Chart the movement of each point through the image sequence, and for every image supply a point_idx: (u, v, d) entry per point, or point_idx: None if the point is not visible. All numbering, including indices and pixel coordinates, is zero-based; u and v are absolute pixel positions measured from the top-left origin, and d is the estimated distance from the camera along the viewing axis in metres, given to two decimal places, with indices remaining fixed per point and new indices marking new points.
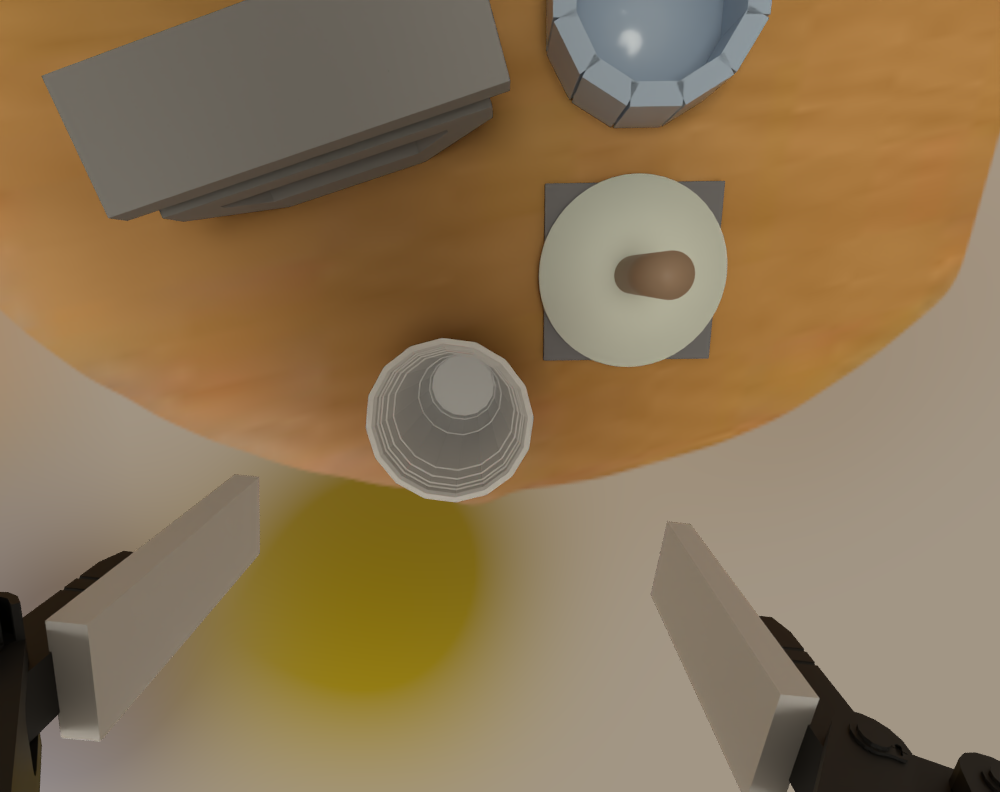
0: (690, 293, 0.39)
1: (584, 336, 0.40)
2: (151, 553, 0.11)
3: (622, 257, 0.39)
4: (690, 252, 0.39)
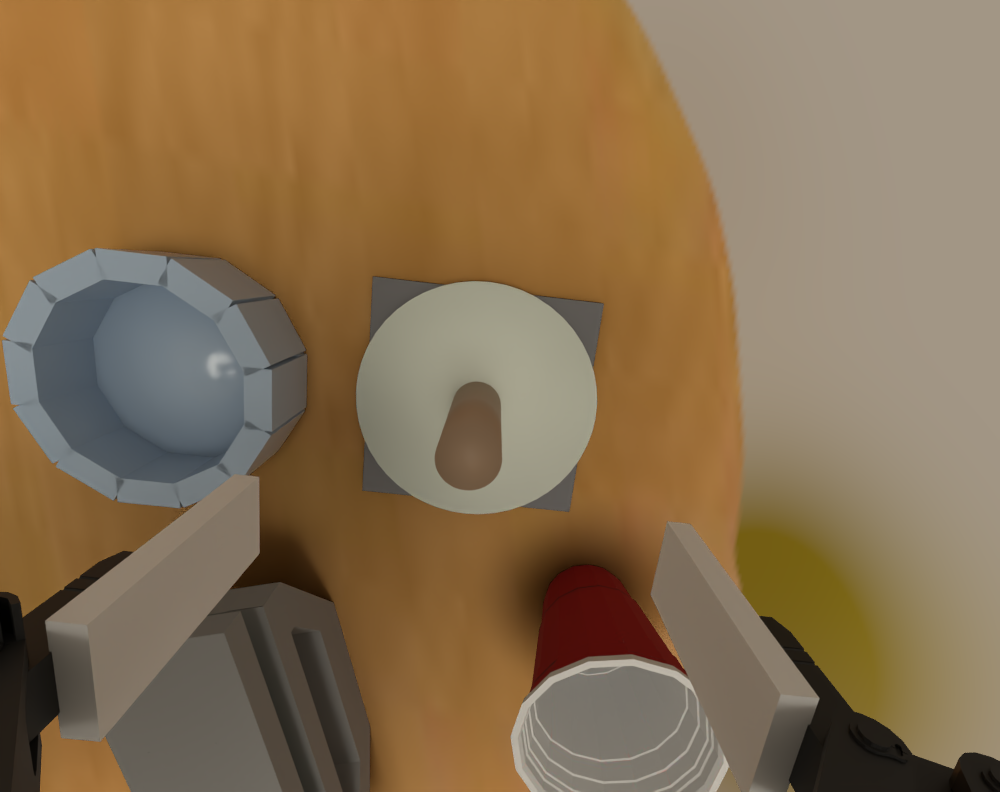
0: (510, 331, 0.29)
1: (546, 468, 0.32)
2: (151, 553, 0.11)
3: None
4: (456, 330, 0.29)
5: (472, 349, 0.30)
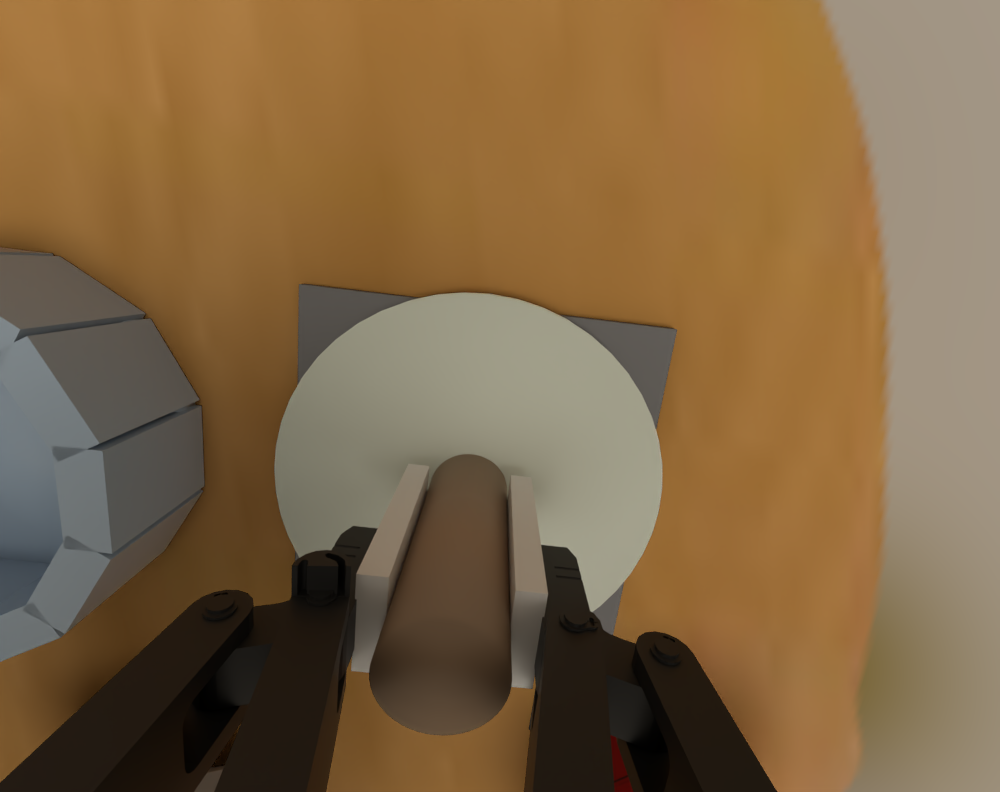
0: (523, 376, 0.18)
1: None
2: (393, 526, 0.13)
3: None
4: (435, 372, 0.18)
5: (461, 404, 0.18)
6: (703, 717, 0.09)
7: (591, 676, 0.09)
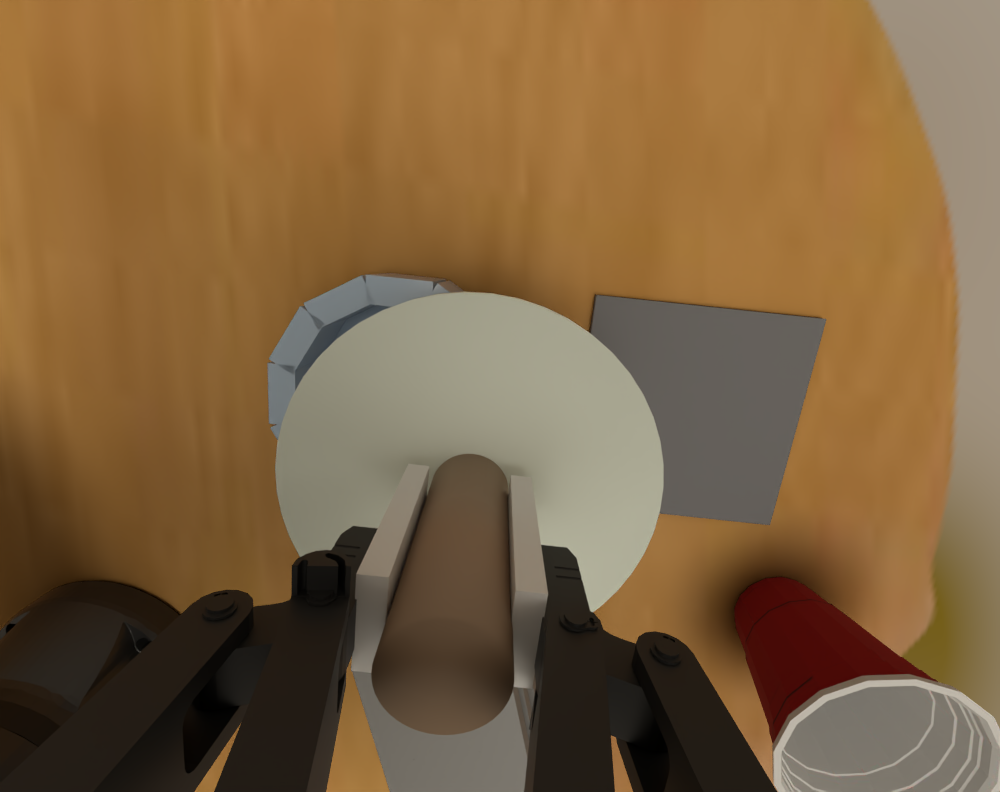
0: (524, 375, 0.18)
1: None
2: (393, 526, 0.13)
3: None
4: (437, 372, 0.18)
5: (462, 403, 0.18)
6: (703, 717, 0.09)
7: (591, 676, 0.09)
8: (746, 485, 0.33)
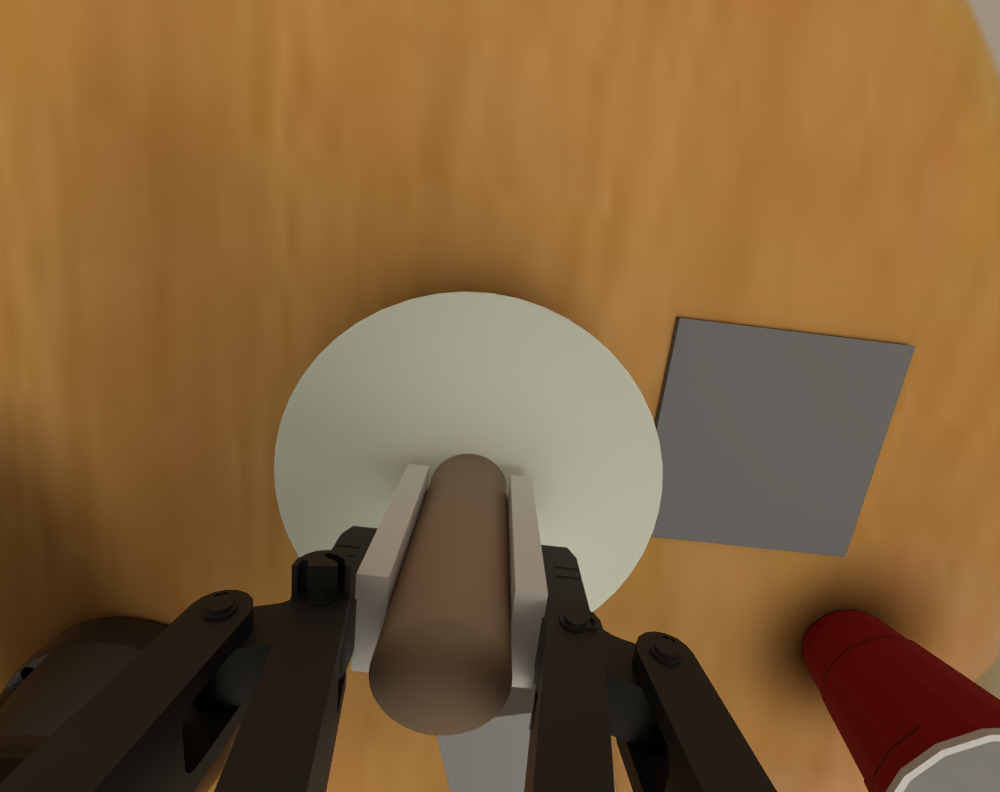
0: (523, 375, 0.18)
1: None
2: (393, 525, 0.13)
3: None
4: (435, 372, 0.18)
5: (461, 403, 0.18)
6: (703, 717, 0.09)
7: (591, 676, 0.09)
8: (823, 516, 0.31)
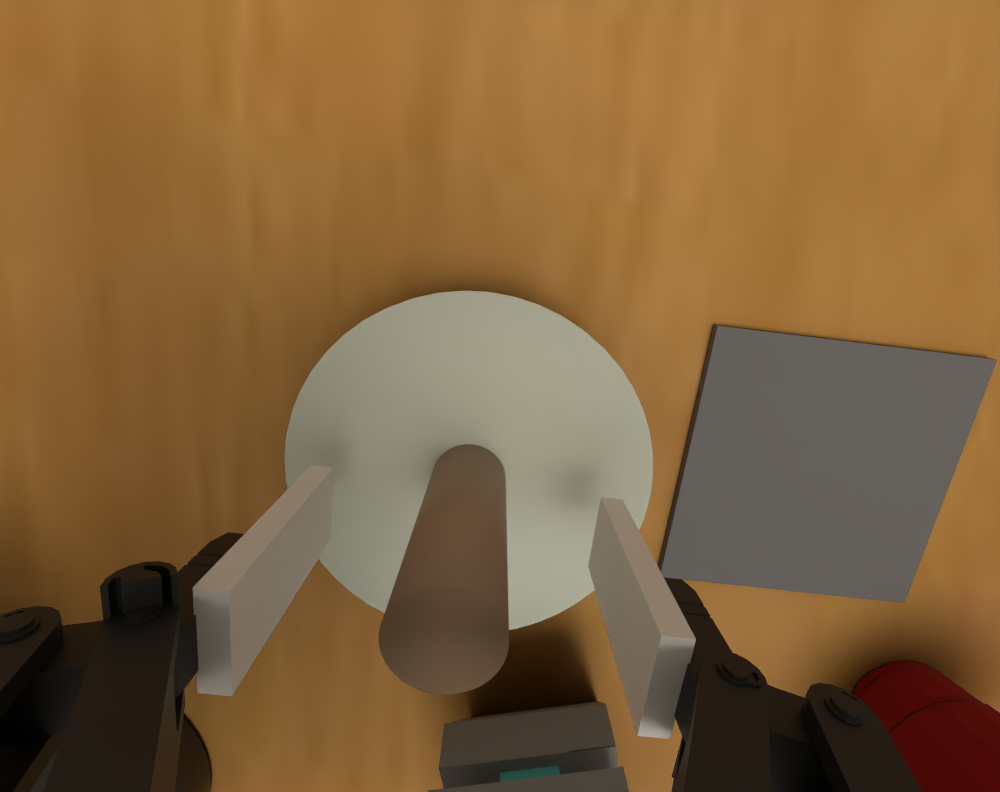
0: (520, 370, 0.19)
1: (573, 571, 0.21)
2: (261, 533, 0.12)
3: None
4: (438, 366, 0.19)
5: (462, 396, 0.19)
6: (888, 788, 0.08)
7: (751, 736, 0.08)
8: (880, 556, 0.27)
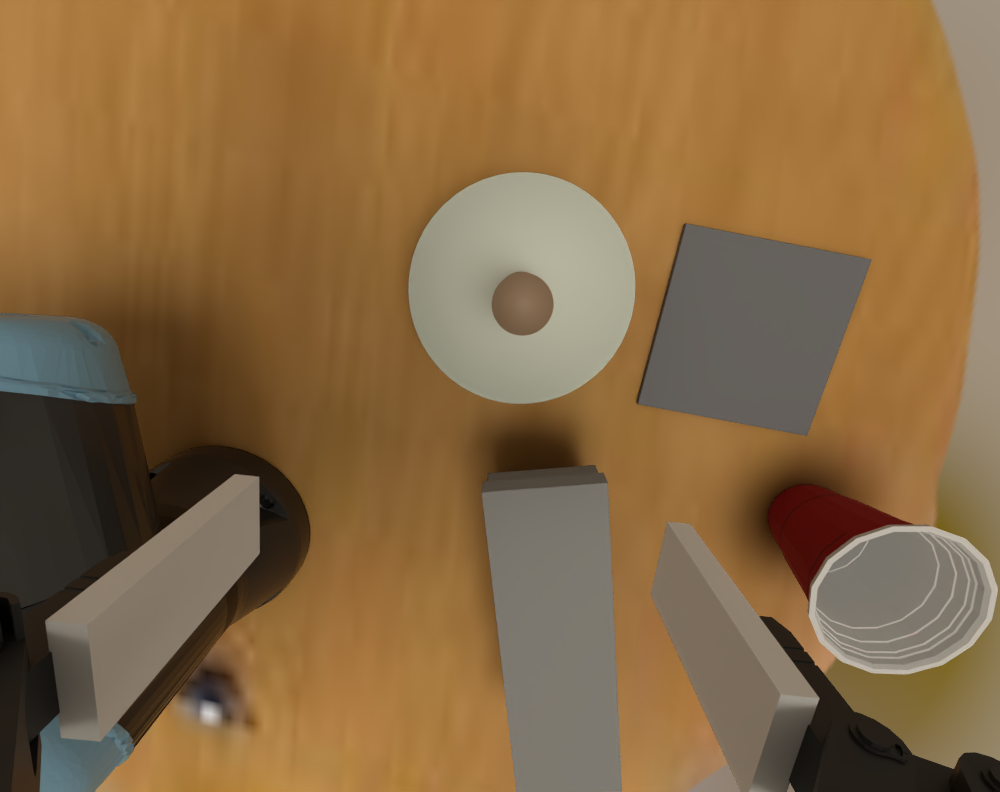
0: (558, 224, 0.31)
1: (580, 363, 0.33)
2: (151, 553, 0.11)
3: None
4: (509, 219, 0.31)
5: (521, 239, 0.31)
6: None
7: None
8: (791, 399, 0.39)
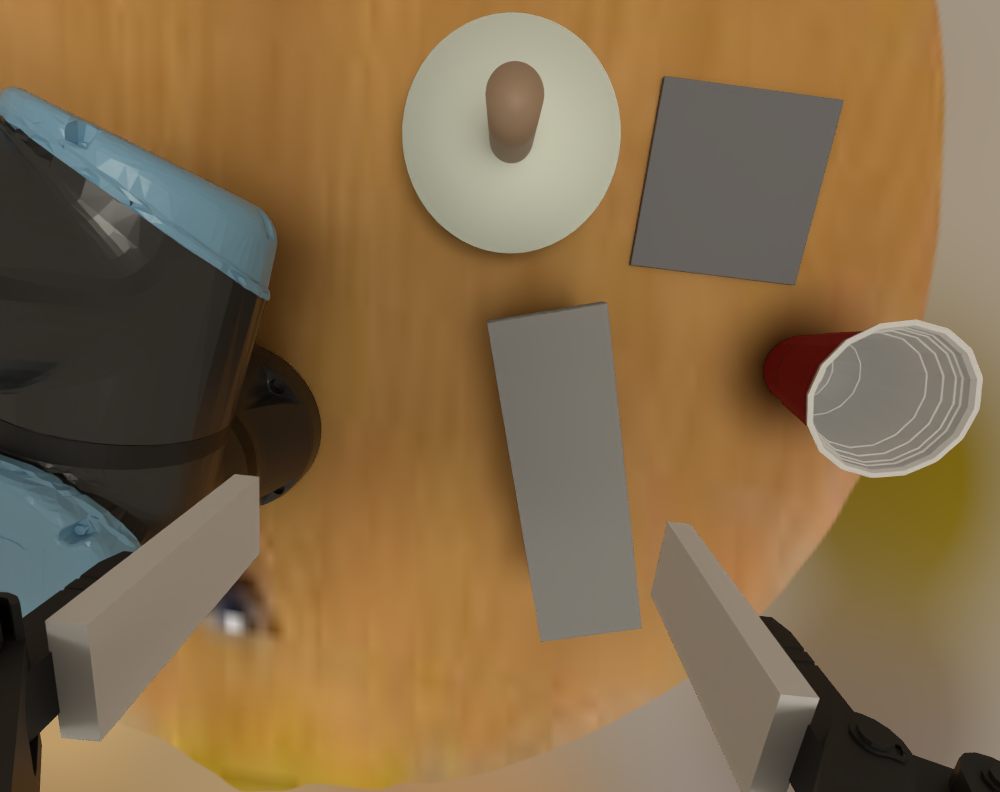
0: (542, 64, 0.32)
1: (573, 206, 0.35)
2: (151, 553, 0.11)
3: (490, 151, 0.34)
4: (495, 62, 0.32)
5: None
6: None
7: None
8: (777, 248, 0.40)
